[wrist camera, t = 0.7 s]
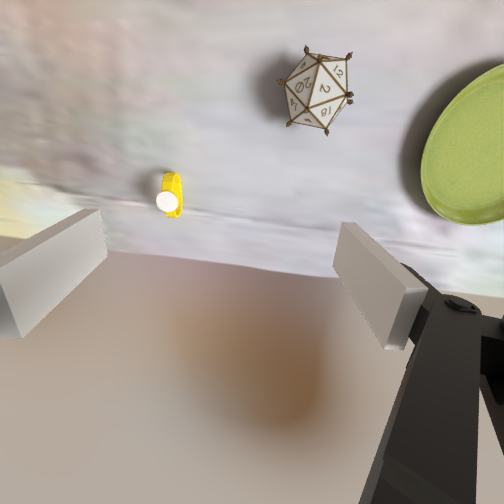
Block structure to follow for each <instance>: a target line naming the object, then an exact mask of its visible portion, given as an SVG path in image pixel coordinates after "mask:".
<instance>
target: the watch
mask: <svg viewBox="0 0 504 504" xmlns="http://www.w3.org/2000/svg"><path fill="white" fill-rule="evenodd" d="M156 203H157V205H158V207H159V208H160V209H161V210H162V211H164V212H165V214H166V216H167V217H168V218H178V217H179V216H180V215H181V211H182V204H183V200H182V187H181V179H180V176H179V175H178V174H177V173H168V172H167V173H166V174H165V175H164V177H163V181H162V191H161V192H160V193H159V194H158V195H157V198H156Z"/></svg>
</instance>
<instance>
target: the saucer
mask: <svg viewBox="0 0 504 504" xmlns="http://www.w3.org/2000/svg"><path fill="white" fill-rule="evenodd" d="M420 175H421V184H422V189H423V192H424V195H425V197H426V200H427V202H428V203H429V205H430V206H431V207H432V209H433V210H434V211H435V212H436V213H437V214H439V215H440V216H441V217H443V218H444V219H446V220H448V221H450V222H453V223H456V224H461V225H470V226H475V225H486V224H491V223H495V222H498V221H501V220H504V64H501V65H499V66H497V67H495V68H493V69H491V70H489V71H487V72H486V73H484V74H482V75H481V76H479V77H478V78H476V79H475V80H474V81H472V82H471V83H470V84H469V85H467V86H466V87H465V88H464V89H463V90H462V91H461V92H460V93H458V94H457V96H456V97H455V98H454V99H453V100H452V101H451V102H450V103H449V104H448V106H447V107H446V108H445V109H444V111H443V112H442V113H441V115H440V116H439V118H438V119H437V121H436V123H435V124H434V126H433V128H432V130H431V132H430V134H429V136H428V138H427V141H426V144H425V147H424V150H423V154H422V159H421V168H420Z"/></svg>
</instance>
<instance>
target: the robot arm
mask: <svg viewBox="0 0 504 504" xmlns="http://www.w3.org/2000/svg"><path fill="white" fill-rule="evenodd" d="M107 256H108V254H107V249H106V243H105V238H104V232H103V227H102V221H101V216H100V210H99V209H83V210H81V211H79V212H77V213H75V214H73V215H71V216H69V217H68V218H66V219H64V220H62V221H60V222H58V223H56V224H54V225H53V226H51V227H49V228H47V229H45V230H43V231H41V232H39V233H37V234H36V235H34V236H32V237H30V238H28V239H26V240H24V241H22V242H21V243H19V244H17V245H15V246H13V247H11V248H9V249H7V250H6V251H4V252H2V253H0V338H13V339H22V338H23V337H25V335H27V334H28V333H29V332H30V331H31V330H32V329H33V328H34V327H35V326H36V325H37V324H38V323H39V322H40V321H41V320H42V319H43V318H44V317H45V316H46V315H47V314H48V313H49V312H50V311H51V310H52V309H53V308H54V307H55V306H57V305H58V304H59V303H60V302H61V301H62V300H63V299H64V298H65V297H66V296H67V295H68V293H70V292H71V291H72V290H73V289H74V288H75V287H76V286H77V285H78V284H79V283H80V282H81V281H82V280H83V279H84V278H85V277H86V276H87V275H88V274H90V273H91V272H92V271H93V270H94V269H95V268H96V267H97V266H98V265H99V264H100V263H101V262H102V261H103V260H104V259H105V258H106V257H107ZM333 268H334V269H335V271H336V273H337V274H338V276H339V277H340V279H341V281H342V282H343V284H344V285H345V287H346V289H347V290H348V292H349V294H350V295H351V297H352V298H353V300H354V302H355V303H356V305H357V307H358V308H359V310H360V311H361V313H362V315H363V316H364V318H365V320H366V321H367V323H368V324H369V326H370V328H371V329H372V331H373V333H374V334H375V336H376V337H377V339H378V341H379V342H380V344H381V346H382V347H383V349H384V350H404V348H405V346H406V343H407V341H408V338H410V339H411V340H412V342H413V343H414V344H415V347H414V349H413V352H412V354H411V357H410V359H409V361H408V363H407V366H406V371H405V374H404V377H403V380H402V382H401V385H400V388H399V391H398V394H397V396H396V399H395V402H394V405H393V408H392V411H391V414H390V416H389V419H388V422H387V425H386V427H385V430H384V433H383V436H382V439H381V442H380V444H379V447H378V450H377V453H376V456H375V458H374V461H373V464H372V467H371V470H370V473H369V475H368V478H367V481H366V484H365V487H364V489H363V492H362V495H361V498H360V501H359V504H476V479H477V478H476V477H477V448H478V446H477V445H478V416H479V414H478V413H479V387H480V390H481V392H482V395H483V398H484V401H485V404H486V407H487V410H488V412H489V415H490V417H491V421H492V424H493V426H494V429H495V432H496V435H497V438H498V441H499V444H500V446H501V449H502V452H503V455H504V316H503V318H502V319H499V318H494V317H490V316H484V315H482V313H481V311H480V309H479V308H478V307H477V306H475V305H474V304H472V303H471V302H469V301H467V300H464V299H462V298H460V297H457V296H453V295H446V294H441V293H440V292H439V291H438V290H436V289H435V288H434V287H433V286H432V285H431V284H430V283H428V282H427V281H425V279H424V278H423V277H421V276H419V274H418V273H417V272H416V271H415V270H413V269H412V268H410V267H409V266H407V265H405V264H403V263H399V262H398V261H397V260H396V259H395V258H394V257H393V256H392V255H391V254H389V253H388V252H387V251H386V250H385V249H384V248H383V247H382V246H381V245H379V244H378V243H377V242H376V241H375V240H374V239H373V238H372V237H371V236H369V235H368V234H367V233H366V232H365V231H364V230H363V229H362V228H361V227H359V226H358V225H357V224H356V223H348V222H342V224H341V229H340V233H339V238H338V243H337V247H336V252H335V256H334V261H333Z"/></svg>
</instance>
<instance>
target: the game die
mask: <svg viewBox="0 0 504 504" xmlns="http://www.w3.org/2000/svg"><path fill="white" fill-rule="evenodd" d="M304 51H305V52H304V53H306V55H305V57H304V58H303V59H302V60H301V62H300V63H299V64H298V65H297V67H296V68H295V69H294V70H293V72H292V73H291V74H290V75H289V77H288V78H287V79H286V80H285V81H284V80H283V79H280V80H277V82H278V83H279V85H280V84H281V85H283V84H284V88H285V94H286V99H287V105H288V110H289V116H290V121H288V122H287V124H286V127H288V126H290V125H291V123H292V122H294V123H299V124H303V125H308V126H313V127H317V128H322V129H325V131H324V132H325V134H326V135H327V136H328V134H329V130H328V129H327V128H328V126H329V125H330V124H331V123H332V121H333V120H334V119H335V117H336V116H337V115H338V114H339V112H340V111H341V110H342V108H343V107H344V106H345V105H346V103H348V104H349V105H350V104H352V103H353V100H350V99H349V100H348V97H349V98H351V97H352V96H354V94H353V93H352V91H351V92H348V80H347V60H350V58H352V53H353V52H351V53H348V55H346V58H345V59H344V58H338V57H331V56H325V55H321V54H312V53H309V48H308V47H307V46H306V45H305V48H304Z"/></svg>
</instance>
